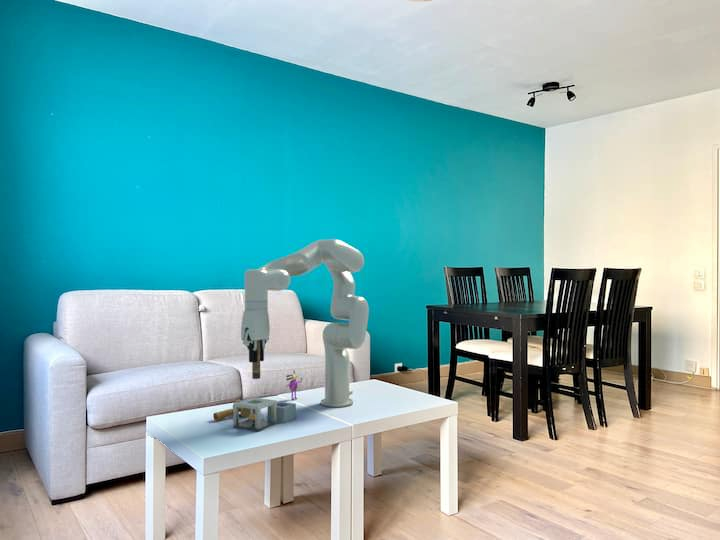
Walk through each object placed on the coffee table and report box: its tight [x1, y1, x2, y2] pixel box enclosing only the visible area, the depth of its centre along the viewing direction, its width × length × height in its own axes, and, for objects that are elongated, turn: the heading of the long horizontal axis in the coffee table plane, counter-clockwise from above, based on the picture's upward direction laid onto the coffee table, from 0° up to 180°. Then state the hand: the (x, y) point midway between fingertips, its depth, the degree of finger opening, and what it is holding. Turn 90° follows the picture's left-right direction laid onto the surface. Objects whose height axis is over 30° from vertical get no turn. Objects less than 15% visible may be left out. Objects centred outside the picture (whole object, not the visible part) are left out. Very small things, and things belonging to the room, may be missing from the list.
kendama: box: [212, 396, 257, 422], centre depth 189 cm, size 8×6×18 cm
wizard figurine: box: [284, 369, 303, 401], centre depth 215 cm, size 11×3×12 cm, turn 151°
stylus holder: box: [266, 401, 297, 424], centre depth 185 cm, size 7×7×5 cm
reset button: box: [248, 414, 255, 422], centre depth 177 cm, size 4×4×2 cm
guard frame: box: [232, 396, 278, 433], centre depth 177 cm, size 10×10×8 cm
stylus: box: [251, 340, 261, 380], centre depth 177 cm, size 3×3×15 cm
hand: (256, 361), depth 177 cm, fingers closed on stylus, 2 cm apart
